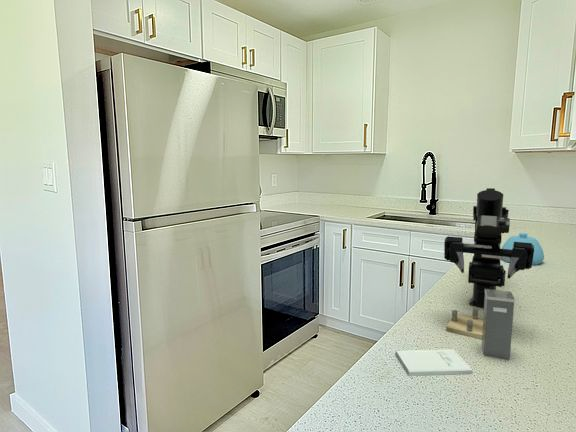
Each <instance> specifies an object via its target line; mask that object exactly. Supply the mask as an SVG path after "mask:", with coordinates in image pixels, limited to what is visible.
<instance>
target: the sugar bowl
mask: <svg viewBox="0 0 576 432" xmlns="http://www.w3.org/2000/svg"><path fill="white" fill-rule="evenodd" d="M528 235H529V234H528V233H527V232H526V233H525V232H519V233H518V235H511V236H510V237H508V238H507V240H505V242H504V243H503V245H502V247H501V249H510V250H512V249H513V244H514V242H524V243H532V244H533V246H534V255H533V262H532V266H538V265H540V264H541V263H542V262H543V261H544V260H545V254H544V251H543V248H542V245H541V244H540V242H539V241H538V239H536V238H535V237H531V236H528ZM503 261H505V262H506V261H507V263H509V262H510V260H508V259H503Z"/></svg>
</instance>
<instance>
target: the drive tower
mask: <svg viewBox="0 0 576 432" xmlns="http://www.w3.org/2000/svg"><path fill="white" fill-rule="evenodd" d="M515 302H516V300H515V298H514V295H513V293H512V291H507V290H499V289H498V290H497V289H496V290H490V289H485V300H484V307H483V315H482V316H483V317H482V319H483V331H482V339H481V350H482V355H483V357H489V358H493V359H494V358H496V359H502V360H507V361H510V360H511V348H512V347H511V346H512V335H513V334H512V333H513V321H514V309H515V308H514V307H515Z"/></svg>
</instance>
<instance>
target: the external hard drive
mask: <svg viewBox="0 0 576 432" xmlns="http://www.w3.org/2000/svg"><path fill="white" fill-rule="evenodd" d="M394 354H395V357H396V358H397V359H398V361H399V363H400V364H401V366H402V367H403V369H404V371H405V372H406V374H407V375H408V376H409V377H414V376H416V377H420V376H421V377H422V376H445V375H446V376H447V375H449V376H450V375H452V376H454V375H472V374H473V369H472V367H471V366H470V365H469V364H468V363H467V362H466V361H465V360H464V359H463V358H462V356H460V354H459V353H457V351H456V350H454V349H453V348H451V349H449V348H448V349H447V348H446V349H416V350H415V349H413V350H412V349H411V350H395V353H394Z"/></svg>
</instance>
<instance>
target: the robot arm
mask: <svg viewBox="0 0 576 432" xmlns="http://www.w3.org/2000/svg"><path fill="white" fill-rule="evenodd" d="M495 189H496V188H492V187H491V188H488V187H486V189H485V190H481V191H479V192H478V193H476V194H477V198H476V205H473V211H472V215H473V217H472V218H473V219H472V220H473V221H475V222H474V236H473V242H474V243H469V242H463V237H459V236H448V235H447V236H446V237H445V238H444V242H443V243H444V247H443V249H444V250H443V251H444V252H443V253H444V256H443V257H444V260H446V261H449V262H450V263H453V264H455V265H456V267H457V268H458V269H459V271H460V272H461V274H464V273H465V261H464V260H465V259H464V254H473V255H472V259H471V260H472V261H469V262H468V274H467V275H468V276H467V279H468V284H473V287H472V298H471V299H470V301H469V305H471V306H476V307H480V308H481V307H482V308H484V300H485V289H490V290H497V287H498V288H502V287H504V286H505V284H506V283H505V282H506V274H507V279H511V278H512V277H513V276H514V275H515V274H516V273H517V272H519V271H525V270H531V268H532V267H533V265H532V262H533V255H534V246H533V244H532V243H524V242H514V244H513V249H512V250H510V249H502V248H501V244H502V237H503V235H502V234H509V233H510V226H511V225H510V224H511V222H510V220H511V219H510V217H509V209H507V206H505V207H504V206H503V205H504V193H502V192H501V191H499V190H495ZM504 259H508V260H510V263H509V264H508V269H507V271H506V270H505V267H504V265H503V264H501V260H504ZM506 272H507V273H506Z"/></svg>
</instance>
